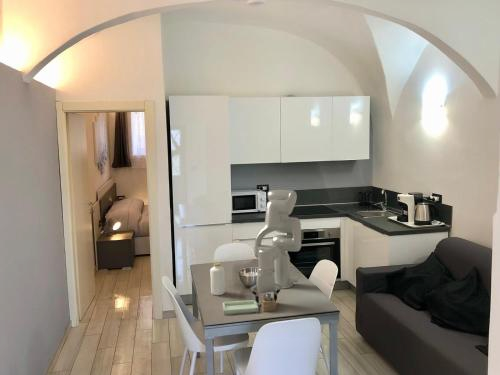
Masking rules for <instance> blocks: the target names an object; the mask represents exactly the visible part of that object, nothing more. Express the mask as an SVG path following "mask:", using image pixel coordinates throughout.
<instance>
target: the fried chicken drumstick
mask: <svg viewBox="0 0 500 375" xmlns="http://www.w3.org/2000/svg"><path fill="white" fill-rule="evenodd" d="M266 294H267V293H262V298H261V309H262V311H263V312H275V311H277V310H276V307H277V306H276V302H277V301H276V302H275V300H274V296H271V301H266Z"/></svg>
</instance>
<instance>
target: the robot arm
mask: <svg viewBox="0 0 500 375" xmlns="http://www.w3.org/2000/svg"><path fill="white" fill-rule="evenodd" d="M267 199H268V202H267V203H266V209H265V219H264V226H263V228H261V229H260V231H259V232H258V234H257V235H256V237H255V240H254V248H253V249H254V250H253V251H254V252H253V253H254V256H255V258H256V259H258V273H257V274H256V284H254V285H253V286H251V287H249V289H250V292H252V295H254V296H255V301H256V303H257V304H259V303H260V302H259V301H260V299H259V294H267V293H273V298H274V300H275V302H277V300H278V294H279V293H280V292H281V290H282V289H289V288H292V287H293V285H294V284H293V283H299V280H298V278H295V277H293V278H291V262H290V261H291V257H290V255H289V253H288V252H299V251H300V250H301V248H302V223H301V220H300V218H298V217H292V216H291V217H289V215H291V214H292V212H293V210H294V207H295V205H296V202H297V199H298V196H297V192H296V191H295V190H292V189H271V190H269V191H268V192H267ZM274 232H276V233H279V234H276V235H274V236H273V238H272V240H271V241H272V242H271V243H272V245H267V244H265V245H264V244H262V241H263V239H264V238H265V237H266V236H267V235H268V234H271V233H274ZM281 233H282V234H281ZM288 234H289V235H288ZM273 265H274V268H273ZM255 289H256V291H255Z"/></svg>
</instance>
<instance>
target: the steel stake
mask: <svg viewBox="0 0 500 375" xmlns="http://www.w3.org/2000/svg"><path fill="white" fill-rule="evenodd" d="M265 294H266V301H271V298H272V296H271V293H265Z"/></svg>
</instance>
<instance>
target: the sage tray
mask: <svg viewBox="0 0 500 375" xmlns="http://www.w3.org/2000/svg"><path fill="white" fill-rule="evenodd" d="M221 303H222V304H221V305H222V311H223V315H224V316H227V315H243V314H253V313H252V312H256V313H259V306H258V303H257V301H256V299H248V300H235V301H234V300H233V301H222V302H221Z"/></svg>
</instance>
